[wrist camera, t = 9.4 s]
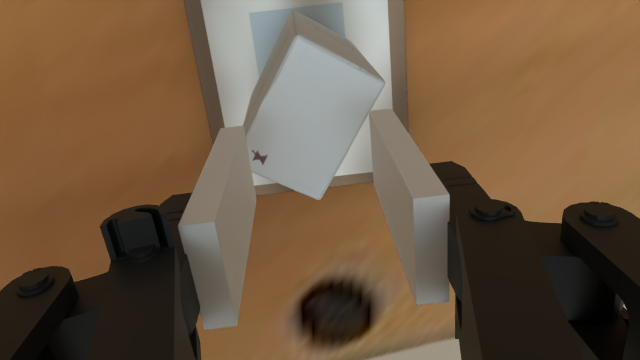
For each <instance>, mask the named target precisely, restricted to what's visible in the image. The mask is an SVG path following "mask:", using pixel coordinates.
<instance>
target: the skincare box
mask: <svg viewBox="0 0 640 360" xmlns="http://www.w3.org/2000/svg"><path fill="white" fill-rule="evenodd" d="M385 83H386V82H385V81H384V79H383V78H382V77H381V76H380V75H379V73H378V72H377V71H376V70H375V69H374V68H373V66H372V65H371V64H370V63H369V62H368V61H367V60H366V58H365V57H364V56H363V55H362V54H361V52H360V51H359V50H358V49H357V48H356V47H355V45H354V44H353V43H352V42H351V41H350V40H348V39H346V38H344V37H343V36H341V35H339V34H337V33H335V32H334V31H332V30H330V29H328V28H327V27H325V26H323V25H321V24H319V23H318V22H316V21H314V20H312V19H311V18H309V17H307V16H305V15H303V14H301V13H300V12H298V11H296V10H292V11H291V12H290V15H289V17H288V19H287V21H286V23H285V25H284V27H283V29H282V31H281V33H280V35H279V37H278V39H277V41H276V43H275V45H274V47H273V50H272V52H271V54H270V56H269V58H268V60H267V62H266V64H265V67H264V69H263V71H262V73H261V75H260V78H259V80H258V82H257V84H256V86H255V88H254V90H253V92H252V94H251V98H250V102H249V105H248V109H247V113H246V116H245V120H244V124H243V126H244V131H245V137H246V142H247V148H248V154H249V160H250V165H251V171H252V173H255V174H257V175H260V176H262V177H264V178H267V179H269V180H272V181H274V182H276V183H279V184H281V185H283V186H286V187H288V188H291V189H293V190H295V191H297V192H300V193H302V194H305V195H307V196H309V197H312V198H314V199H316V200H320V199H321V198H322V196H323V195H324V193H325V191H326V189H327V188H328V186H329V184H330V182H331V181H332V179H333V177H334V176H335V174H336V172H337V170H338V169H339V167H340V165H341V163H342V162H343V160H344V158H345V156H346V154H347V152H348V151H349V149H350V147H351V145H352V143H353V141H354V139H355V137H356V136H357V134H358V132H359V130H360V128H361V126H362V125H363V123H364V121H365V119H366V118H367V116H368V114H369V111H370V110H371V109H372V107H373V105H374V103H375V101H376V100H377V98H378V96H379V94H380V92H381V91H382V89H383V87H384V86H385Z"/></svg>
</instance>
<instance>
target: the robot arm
mask: <svg viewBox="0 0 640 360" xmlns="http://www.w3.org/2000/svg"><path fill="white" fill-rule="evenodd" d="M369 121H370V136H371V151H372V166H373V181H374V188H375V191H376V194H377V196H378V199H379V202H380V205H381V208H382V210H383V213H384V216H385V219H386V222H387V224H388V227H389V230H390V233H391V236H392V238H393V241H394V244H395V247H396V249H397V252H398V255H399V258H400V261H401V263H402V266H403V269H404V272H405V275H406V277H407V280H408V283H409V286H410V288H411V291H412V294H413V297H414V300H415V302H416V305H423V304H431V303H440V302H448V301H449V281H450V283H451V285H452V287H453V289H454V291H455V339H459V343H460V351H461V359H462V360H640V219H639V218H638V217H636V216H635V215H633V214H632V213H630V212H628V211H626V210H624V209H622V208H620V207H617V206H613V205H610V204H608V203H603V202H601V203H599V202H588V203H578V204H574V205H570V206H569V207H567V208H566V209H564V212H563V217H562V224H561V223H541V222H530V221H525V220H524V218H523V216H522V213H521V212H520V211H519V209H518V208H517V207H516V206H514V205H512V204H510V203H508V202H504V201H500V200H494V199H491V198H490V197H489V196H488V195H487V194H486V192H485V191H484V190H483V189H482V188H481V186H480V185H479V184H477V182H476V180H475V179H474V178H473V177H472V176H471V174H470V173H469V172H468V171H467V170H466V168H465V167H463V166H460V165H458V164H456V163H454V162H452V161H449V162H441V163H432V164H429V163H428V162H427V160H426V159H425V157H424V156H423V154H422V153H421V151H420V150H419V148H418V147H417V145H416V144H415V142H414V141H413V139H412V138H411V136H410V135H409V133H408V132H407V130H406V129H405V127H404V126H403V124H402V123H401V121H400V120H399V118H398V117H397V115H396V114H395V112H394V111H393V109H392V108H391V109H382V110H374V111H369ZM256 200H257V199H256V194H255V188H254V182H253V177H252V171H251V165H250V160H249V154H248V148H247V142H246V137H245V131H244V126H236V127H227V128H220V131H219V133H218V135H217V138H216V140H215V142H214V144H213V147H212V149H211V151H210V154H209V156H208V158H207V160H206V163H205V165H204V167H203V170H202V172H201V174H200V177H199V179H198V181H197V183H196V186H195V188H194V190H193V193H186V194H178V195H172V196H171V197H170V198H168V199H167V200H166V201H164V202H163V203H162V204H161V205H160V206H158V205H141V206H135V207H131V208H127V209H124V210H121V211H119V212H117V213H115V214H113V215H111V216H110V217H108V218H107V219H105V220H104V221H103V223H102V224H101V226H100V228H101V231H102V234H103V238H104V241H105V244H106V247H107V250H108V253H109V256H110V259H111V263H110V267H109V272H106V273H104V274H101V275H98V276H94V277H91V278H88V279H84V280H81V281H77V282H74V281H73V279H72V276H71V273H70V271H69V269H67V268H64V267H58V266H51V267H46V268H37V269H34V270H33V271H28V272H26V273H24V274H23V275H22V276H20V277H18V278H16V279H14V280H13V281H11V282H10V283H9V284H8V285H6V286H5V287H4V288H3V289H2V290H1V291H0V360H201V349H200V340H199V336H198V332H197V328H196V322H197V319H198V315H199V311H200V315H201V319H202V323H203V327H204V330H209V329H218V328H226V327H235V326H237V324H238V318H239V311H240V305H241V298H242V292H243V285H244V279H245V272H246V266H247V259H248V253H249V246H250V240H251V233H252V227H253V220H254V213H255V207H256ZM623 304H625V307H626V308H627V310H626V309H625V308H624V307H623Z"/></svg>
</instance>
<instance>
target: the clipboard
mask: <svg viewBox="0 0 640 360" xmlns="http://www.w3.org/2000/svg"><path fill="white" fill-rule="evenodd" d="M184 5H185V10H186V15H187V20H188V24H189V29H190V34H191V39H192V44H193V49H194V54H195V59H196V64H197V68H198V73H199V78H200V83H201V88H202V93H203V98H204V103H205V107H206V112H207V117H208V122H209V127H210V132H211V137H212V142H213V144H214V142H215V140H216V138H217V135H218V133H219V131H220V128H227V127H236V126H243V124H244V120H245V116H246V113H247V109H248V105H249V102H250V98H251V94H252V92H253V90H254V88H255V86H256V84H257V82H258V80H259V78H260V75H261V73H262V71H263V69H264V67H265V64H266V62H267V60H268V58H269V56H270V54H271V52H272V50H273V47H274V45H275V43H276V41H277V39H278V37H279V35H280V33H281V31H282V29H283V27H284V25H285V23H286V21H287V19H288V17H289V15H290V12H291V11H292V10H296V11H298V12H300V13H301V14H303V15H305V16H307V17H309V18H311V19H312V20H314V21H316V22H318V23H319V24H321V25H323V26H325V27H327V28H328V29H330V30H332V31H334V32H335V33H337V34H339V35H341V36H343V37H344V38H346V39H348V40H350V41H351V42H352V43H353V44H354V45H355V47H356V48H357V49H358V50H359V51H360V52H361V54H362V55H363V56H364V57H365V58H366V60H367V61H368V62H369V63H370V64H371V65H372V66H373V68H374V69H375V70H376V71H377V72H378V73H379V75H380V76H381V77H382V78H383V79H384V81H385V82H386V83H385V86H384V87H383V89H382V91H381V92H380V94H379V96H378V98H377V100H376V101H375V103H374V105H373V107H372V109H371V110H370V111H374V110H382V109H391V108H392V109H393V111H394V112H395V114H396V115H397V117H398V118H399V120H400V121H401V123H402V124H403V126H404V127H405V129H406V130H407V132H408V106H407V76H406V47H405V18H404V0H184ZM252 177H253V182H254V188H255V194H256V195H265V194H273V193H282V192H290V191H295V190H293V189H291V188H288V187H286V186H283V185H281V184H279V183H276V182H274V181H272V180H269V179H267V178H264V177H262V176H260V175H257V174H255V173H252ZM368 182H374V181H373V166H372V151H371V136H370V121H369V114H368V116H367V118H366V119H365V121H364V123H363V125H362V126H361V128H360V130H359V132H358V134H357V136H356V137H355V139H354V141H353V143H352V145H351V147H350V149H349V151H348V152H347V154H346V156H345V158H344V160H343V162H342V163H341V165H340V167H339V169H338V170H337V172H336V174H335V176H334V177H333V179H332V181H331V182H330V184H329V186H328V187H333V186H342V185H351V184H359V183H368Z"/></svg>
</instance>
